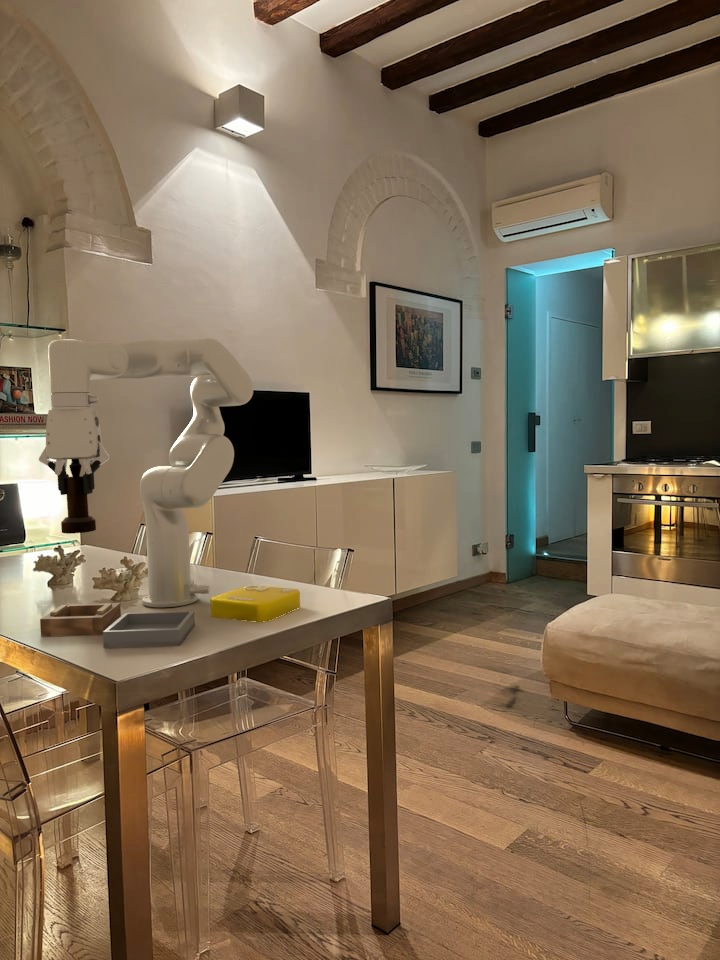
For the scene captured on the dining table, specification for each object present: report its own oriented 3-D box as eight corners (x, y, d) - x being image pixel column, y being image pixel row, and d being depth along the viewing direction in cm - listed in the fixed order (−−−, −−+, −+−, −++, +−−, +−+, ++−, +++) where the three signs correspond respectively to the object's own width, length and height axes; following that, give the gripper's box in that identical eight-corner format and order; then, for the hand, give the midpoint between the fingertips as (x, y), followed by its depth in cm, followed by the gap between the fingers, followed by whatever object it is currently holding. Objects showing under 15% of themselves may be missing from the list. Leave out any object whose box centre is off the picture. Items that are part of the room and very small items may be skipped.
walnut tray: (121, 619, 155) (120, 600, 155) (102, 634, 143) (101, 614, 143) (64, 620, 155) (63, 601, 155) (40, 636, 143) (39, 616, 143)
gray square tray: (195, 625, 149) (194, 610, 149) (180, 645, 135) (179, 629, 135) (125, 627, 148) (125, 613, 148) (103, 647, 134) (102, 631, 134)
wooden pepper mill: (67, 529, 151) (62, 442, 150) (99, 528, 152) (95, 441, 150) (57, 534, 144) (52, 443, 143) (91, 533, 145) (86, 442, 144)
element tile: (207, 618, 156) (206, 596, 156) (248, 602, 169) (247, 582, 169) (265, 625, 149) (264, 602, 149) (303, 608, 162) (303, 587, 162)
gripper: (119, 402, 150) (124, 491, 151) (37, 404, 150) (42, 493, 151) (107, 400, 143) (112, 494, 144) (21, 403, 142) (26, 497, 143)
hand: (76, 492), depth 147 cm, fingers closed on wooden pepper mill, 4 cm apart
